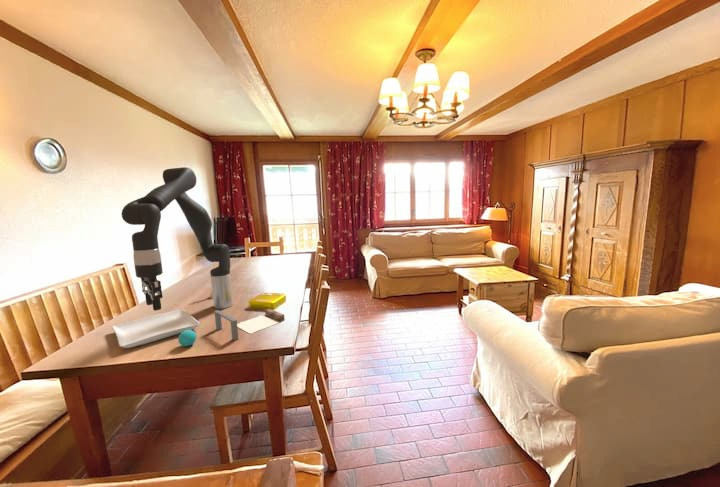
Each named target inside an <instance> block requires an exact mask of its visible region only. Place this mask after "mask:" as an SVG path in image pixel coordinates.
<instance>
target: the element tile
mask: <svg viewBox="0 0 720 487" xmlns="http://www.w3.org/2000/svg"><path fill="white" fill-rule="evenodd" d="M286 297H287V295H286V293H280V292H279V293H277V292H275V293H274V292H262V293H260V294H258V295H256V296H254V297H252V298H250V299H249V300H248V302H247V303H248V309H250V310H263V311H265V310H266V309H271V310H274V311H275V310H276V309H278V308H279V307H280V306H281V305H283V304H285V303H286V302H287V298H286Z"/></svg>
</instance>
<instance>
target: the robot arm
mask: <svg viewBox="0 0 720 487" xmlns="http://www.w3.org/2000/svg"><path fill="white" fill-rule="evenodd" d="M162 179H163V183H164V184H161V185H160V186H159V185H158V186H157V187H155V188H154V189H152V190H151V191H149V192H148V193H147V194H146V195H145V196H142V197H140V198H137V199H135V200H134V199H133V201H130V202H129V203H126V205H125V206H124V207H123V208H122V210H121V218H122V220H123V221H124V222H125V223H126V224H128V225H132V226H134V225H135V226H138V225H140V226H141V225H143V226H144V227H143V230H142V231H137V232H134V233H133V234H132V235H131V243H132V250H133V263H134V265H133V266H134V271H135V277H137V278H138V279H139V278H140V281H141V288H142V289H141V291H142V293H143V294H144V297H145V304H146V305H147V306H152V309H153V311H155V312H156V311H160V310H162V303H161V299H163V292H162V284H161V280H159V279H158V278H157V276H161V275H163V264H162V257H161V252H160V248H159V247H160V246H159V238H158V234H159V229H160V224H161V219H162V213H161V212H162V211H163V210H164V209H166V208H167V207H168V206H169V204H171V203H172V202H173V201H174V200H175V201H176V203H177V204H178V206H179V208H180V210H181V211H182V213H183V214H184V216H185V219H186V221H187V223H188V224H189V226H190V228H191V230H192V232H193V233H194V235H195V237H196V240H197V241H198V243H199V245H200V249H201V251H202V253H203V255H204V258H205V259H206V260H207V261H208V262H210V263H218V266H217V267H214V268H212V269H211V270H210V271H209V273H210V282H211V283H210V284H211V293H213V298H212V301H213V308H214V309H216V310H219V309H226V308H230V307H231V306H233V305H234V302H233V291H232V281H231V280H232V278H231V251H230V247H229V245H228V244H225V243H213V242H212V240H211V237H210V234H211V231H212V229H213V222H212V219H211V217H210V215H209V213H208V211H207V209H206V208H205V207H203V206H202V205H201V204H199V203H198V202H197V201H196V200H194V199H192V198H191V197H190V196H189V195H188V194H187V192H188V191H189V190H192V189H194V188H195V186H196V185H197V175H196V173H195V172H194V170H193V169H192V168H190V167H174V168H173V167H172V168H167V169H165V170H163V172H162Z"/></svg>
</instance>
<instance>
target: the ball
mask: <svg viewBox="0 0 720 487" xmlns="http://www.w3.org/2000/svg"><path fill="white" fill-rule="evenodd" d="M178 335H179V336H178V338H177V339H178V340H177V341H178V343H179V344H180V346H182V347H191V345H193V344H195V342H196V340H197V334H196V332H195V331H194V330H193V329H192V330H186V331H183V332H182V333H181V334H178Z"/></svg>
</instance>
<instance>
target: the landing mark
mask: <svg viewBox="0 0 720 487" xmlns="http://www.w3.org/2000/svg"><path fill="white" fill-rule="evenodd" d="M279 323H280V321H278V320H276V319H272V318H271V317H269V316H268V317H267V315H263V314H262V315H258V316H256V317H252V318H249V319H247V320H244V321H240V322H239V323H238V322H237V328H238V329H240V330H241V331H244V332H245V333H247V334H249V335H251V334H255V333H257V332H259V331H262V330H265V329H267V328H270V327H272V326H274V325H278V324H279Z"/></svg>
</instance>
